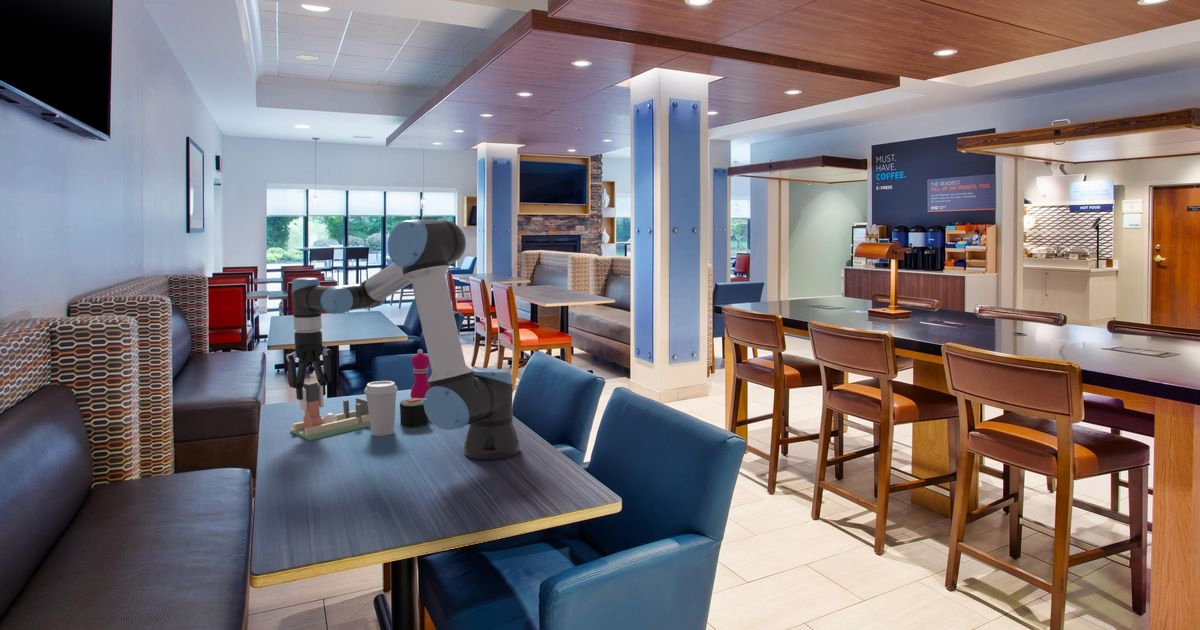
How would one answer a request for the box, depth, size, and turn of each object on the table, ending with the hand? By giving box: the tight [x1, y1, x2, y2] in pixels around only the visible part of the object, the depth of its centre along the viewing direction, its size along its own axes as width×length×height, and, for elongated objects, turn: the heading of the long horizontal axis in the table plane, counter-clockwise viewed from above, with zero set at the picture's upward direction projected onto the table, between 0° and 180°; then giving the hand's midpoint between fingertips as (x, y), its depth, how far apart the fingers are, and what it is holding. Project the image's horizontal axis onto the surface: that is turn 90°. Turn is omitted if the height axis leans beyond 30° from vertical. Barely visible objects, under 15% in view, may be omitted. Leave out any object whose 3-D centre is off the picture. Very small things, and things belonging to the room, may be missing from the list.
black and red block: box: [302, 381, 322, 429], centre depth 212 cm, size 5×3×14 cm, turn 49°
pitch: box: [289, 397, 370, 441], centre depth 218 cm, size 12×22×7 cm, turn 139°
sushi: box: [399, 397, 429, 429], centre depth 223 cm, size 8×8×8 cm
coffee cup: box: [363, 380, 399, 437], centre depth 213 cm, size 10×10×15 cm
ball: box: [323, 412, 337, 424], centre depth 217 cm, size 4×4×4 cm
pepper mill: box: [410, 348, 430, 399], centre depth 243 cm, size 7×7×20 cm
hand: (311, 408), depth 212 cm, fingers open, 4 cm apart
